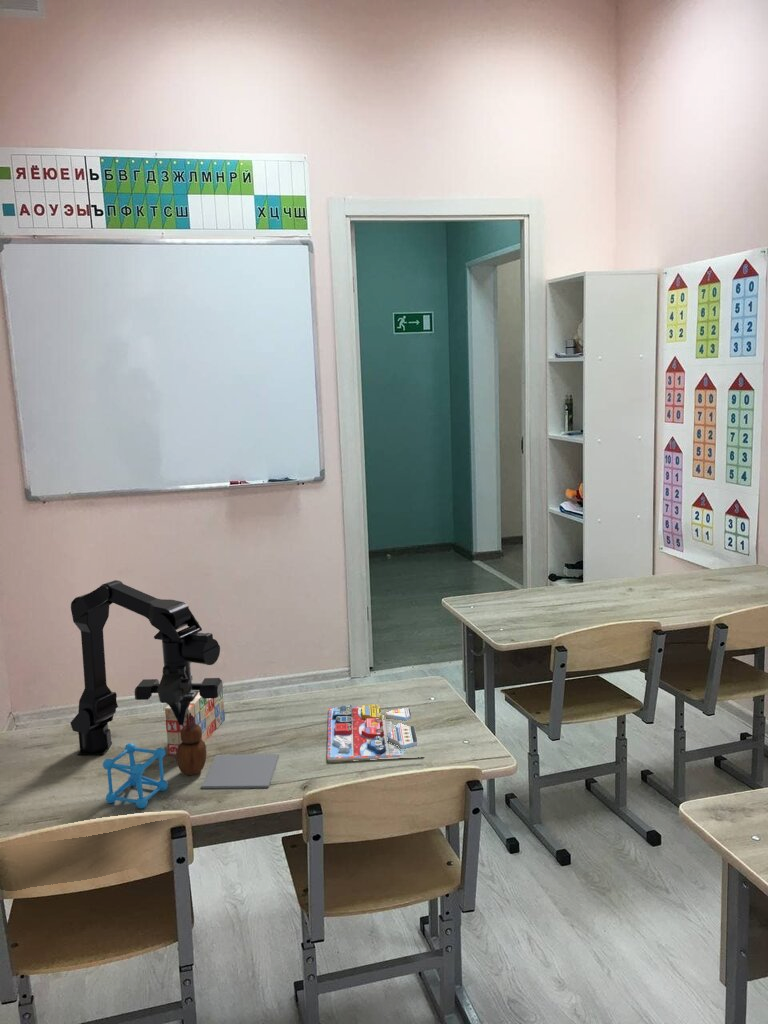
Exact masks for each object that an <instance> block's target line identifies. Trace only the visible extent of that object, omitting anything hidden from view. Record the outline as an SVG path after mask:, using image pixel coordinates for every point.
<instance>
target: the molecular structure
mask: <svg viewBox="0 0 768 1024" xmlns="http://www.w3.org/2000/svg"><path fill="white" fill-rule="evenodd" d="M135 752H141V753H147V754H153V756H151V757H150V758H149V759H148V760H146V761H145V762H143V763H141V762H138V763H136V760H135V755H134V753H135ZM126 754H128V756H129V765H128V764H121V763H115V762H116V761H118V760H120V759H121V758H122V757H124V756H125V755H126ZM165 756H166V750H165V748H163V747H161V746H160V747H157V748H156V749H147V748H142V747H137V746H136V744H134V742H133V743H132V742H129V743H127V744H126V745H125V747H124V751H122V752H120V753H119V754H118V755H116V756H115V757H114V758H106V759H104V760H103V762H102V767H103V769H104V770H105V771H107V773H106V774H107V781H108V782H107V783H108V793H107V794H106V795H105V801H106V802H107V803H109V804H114V803H115V802H116V801H118V802H119V801H120V802H125V803H131V804H136V807H137V808H139V809H145V808H146V807H147V806H148V800H150V798H152V797H153V796H154V795H156V794H158V792H159V791H160V792H164V791H166V790H167V789H168V787H169V783H168V781H167V780H165V778H164V767H163V766H164V765H163V764H164V763H163V758H164V757H165ZM157 759H158V765H159V766H158V768H159V779H160V780H158V781H157V780H154V779H151V778H149V777H147V776H144V775H143V774H144V773H145V770H146V769H147V768H148V767H149V766H150V765H151V764H152V763H153V762H154V761H156V760H157ZM112 769H115V770H117V771H120V772H123V773H125V774H127V775H130V776H129V777H128V778H127V780H126V781H125V782H124V783H123V784H122V785H121V786H119V788H117V790H115V791H113V778H112ZM143 785H147V786H154V787H156V788H155V789H154V790H152V792H150V793H149V794H148V795H146V796H144V791H143ZM129 786H131V787H135V786H136V790H137V796H138V798H137V799H133V798H128V797H123V796H118V795H119V794H121V793H122V792H123V791H124V790H126V789H127V788H128V787H129Z"/></svg>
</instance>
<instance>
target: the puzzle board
mask: <svg viewBox="0 0 768 1024" xmlns="http://www.w3.org/2000/svg"><path fill="white" fill-rule="evenodd" d="M380 706H381V705H379V704H378V703H377V704H376V703H375V704H374V703H372V704H363V705H361V706H352V705H351V704H350V705H349V704H347V705H340V706H335V707H334V706H332V707H328V715H327V717H328V718H327V720H328V721H327V747H326V749H327V751H326V752H327V756H326V759H327V763H329V762H332V763H336V762H335V761H353V760H370V759H379V758H388V757H400V755H404V754H403V753H404V752H405V751H406V750H404V751H401V750H400V749H406V748H410V747H414V746H418V741H417V736H416V731H415V727H414V726H407V725H404V724H402V723H398V724H397V725H394V724H392V722H391V721H392V720H383V719H384V715H382V714H381V713H380V712H381V707H380ZM361 709H362V712H361ZM385 717H386V719H394V720H396V719H397V720H402V721H403V720H404V721H407V720H409V719H411V710H410V709H409V708H402V709H395V710H391V711H389V712H386V713H385ZM395 726H396V727H395ZM387 737H388V741H387ZM389 742H390V743H389ZM391 743H392V744H391ZM394 744H395V745H394ZM396 745H398V746H399V748H400V749H399V748H398V746H396ZM400 752H402V753H400Z"/></svg>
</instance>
